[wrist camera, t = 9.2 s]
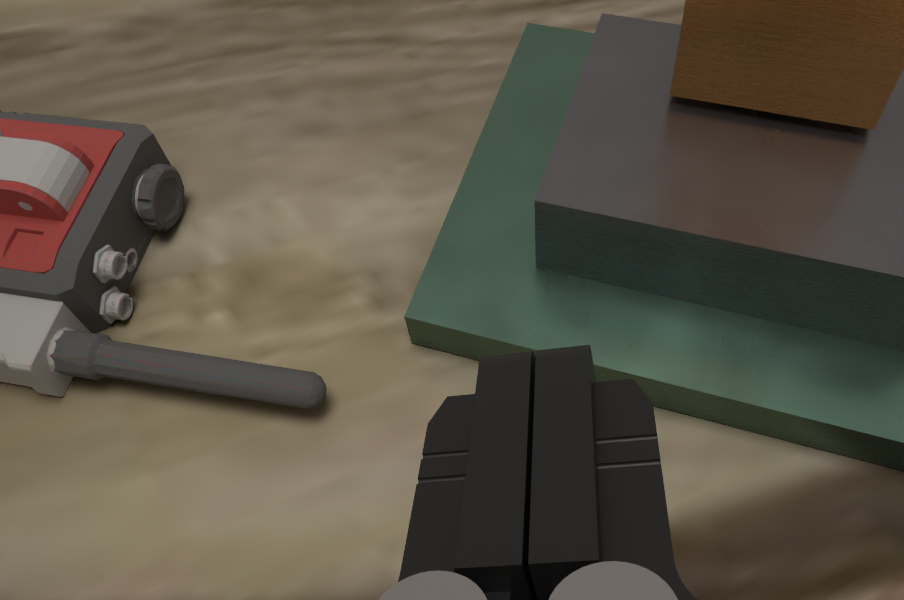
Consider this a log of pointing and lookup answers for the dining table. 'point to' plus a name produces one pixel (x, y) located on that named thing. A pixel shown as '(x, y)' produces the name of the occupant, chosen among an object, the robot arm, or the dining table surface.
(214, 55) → the dining table surface
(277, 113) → the dining table surface
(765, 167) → the green tiered platform
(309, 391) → the walkie-talkie
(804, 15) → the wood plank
